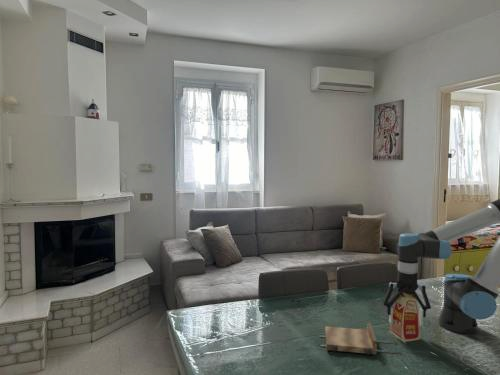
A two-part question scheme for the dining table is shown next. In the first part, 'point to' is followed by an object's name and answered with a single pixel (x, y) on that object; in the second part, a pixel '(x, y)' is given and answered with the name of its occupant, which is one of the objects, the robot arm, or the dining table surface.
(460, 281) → the robot arm
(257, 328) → the dining table surface
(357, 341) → the cart
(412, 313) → the milk carton
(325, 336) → the rails
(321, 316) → the dining table surface
